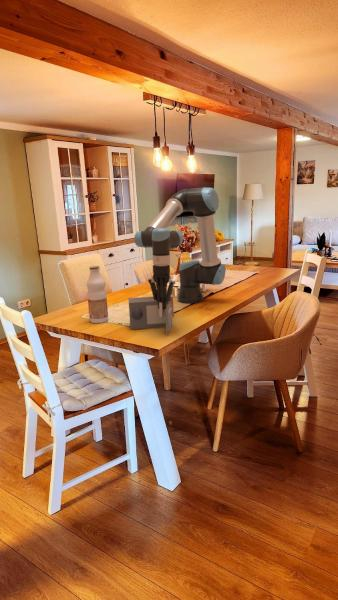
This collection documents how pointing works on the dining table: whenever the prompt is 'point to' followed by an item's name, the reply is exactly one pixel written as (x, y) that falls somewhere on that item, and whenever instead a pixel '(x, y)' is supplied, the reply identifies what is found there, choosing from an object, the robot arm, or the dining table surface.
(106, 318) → the fruit juice
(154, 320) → the camera block
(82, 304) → the dining table surface
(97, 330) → the dining table surface
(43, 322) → the dining table surface
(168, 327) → the side door
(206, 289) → the dining table surface
